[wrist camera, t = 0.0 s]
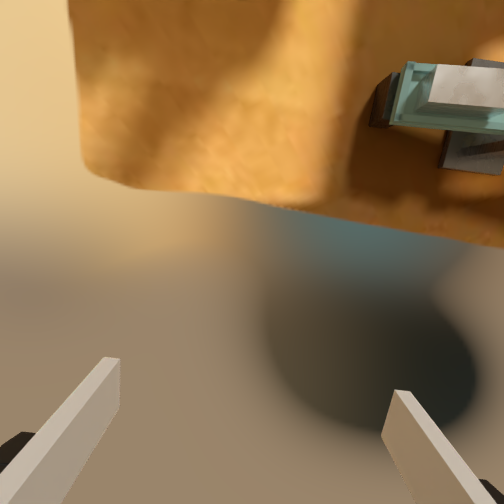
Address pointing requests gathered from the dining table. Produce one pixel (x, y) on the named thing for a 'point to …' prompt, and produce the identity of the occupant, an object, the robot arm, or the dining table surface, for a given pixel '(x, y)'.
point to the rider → (462, 91)
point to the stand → (449, 132)
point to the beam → (407, 117)
